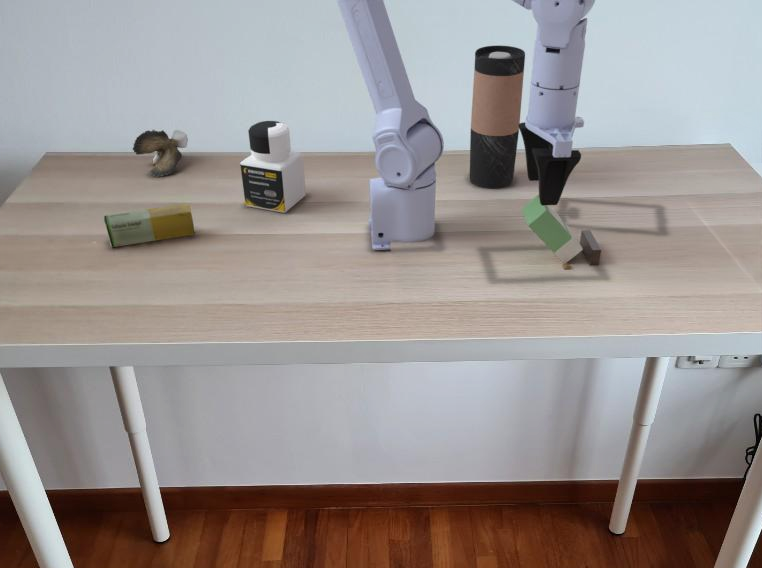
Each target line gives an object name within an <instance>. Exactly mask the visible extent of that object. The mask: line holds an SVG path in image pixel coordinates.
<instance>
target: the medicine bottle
mask: <svg viewBox="0 0 762 568" xmlns="http://www.w3.org/2000/svg"><path fill="white" fill-rule="evenodd" d="M248 139H249V148H250V154H251V155H249V156H247V157H246V158H244V159H243V160H241V162H240V163H239V165H240V173H241V180H242V189H243V197H244V204H245V206H246V207H249V208H254V209H260V210H266V211H271V212H276V213H277V212H278V213H282V214H286V213H287V212H288V211H289V210H290V209H292V208H293V207H294V206H296V204H297V203H299V202H300V201H301V200H302V199H303V198H305V197H306V194H307V192H306V180H305V179H306V178H305V166H304V154H303V153H302V152H299V151H294V150H292V147H291V135H290V127H289V126H288V125H287V124H286V123H284V122H280V121H277V120H265V121H264V120H263V121H259V122H256V123H254V124H253V125H250V127H249V129H248Z"/></svg>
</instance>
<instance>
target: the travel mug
mask: <svg viewBox="0 0 762 568" xmlns="http://www.w3.org/2000/svg"><path fill="white" fill-rule="evenodd" d="M525 63H526V52H525V50H524V49H522V48H520V47H516V46H510V45H487V46H482V47H479V48H477V49H476V50H475V52H474V68H473V69H474V70H473V71H474V72H473V86H472V100H471V117H470V136H469V137H470V138H469V139H470V141H469V142H470V143H469V150H470V151H469V181H470V183H471V184H473V185H475V186H476V187H479V188H484V189H502V188H505V187H508V186H510V185H511V184H512V183H513V181H514V174H515V166H516V160H517V159H516V158H517V151H518V142H519V134H520V129H519V127H518V125H519V124H520V123H521V112H522V111H521V110H522V101H523V99H522V98H523V88H524V87H523V86H524V73H525Z"/></svg>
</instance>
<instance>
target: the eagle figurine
mask: <svg viewBox="0 0 762 568" xmlns="http://www.w3.org/2000/svg"><path fill="white" fill-rule="evenodd" d="M188 142H189V138H188V134H187V133H186V132H184V131H183V130H180V129H175V130H174V131H173V132H172V135H171V137H169V135H168V134H167V133H166V131H164V130H160V131H158V130H155V129H152V130H145V131H143V132H142V133H141V134H139V135H138V136H137V137H136V139H135V140H134V143H133V147H132V151H133V152H134V153H135V155H137V156H138V155H139V156H140V155H145V154H146V155H147V154H153V153H155V152H156V153H155V154H154V157H153V159H152V165H153V167H152V168H151V170H149V174H150V175H151V176H153V177H155V178H159V177H164V176H165V175H166V176H168V175H171V174H173V173H174V172H175V171H176V169H178V165H179V163H180V161H181V160H182V158H183V155H182V152H181V151H180V149H185V148H187V146H188Z"/></svg>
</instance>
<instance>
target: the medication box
mask: <svg viewBox="0 0 762 568" xmlns="http://www.w3.org/2000/svg"><path fill="white" fill-rule="evenodd" d="M103 221H104V225H105V230H106V234H107V238H108V241H109V245H110V247H111V249H113V248H115V247H122V246H129V245H136V244H140V243H142V244H143V243H147V242H154V241H161V240H167V239H174V238H179V237H186V236H192V235H196V234H197V232H196V230H195V224H194V219H193V213H192V208H191V206H190V204H189V203H182V204H181V203H180V204H176V205H175V204H174V205H169V206H161V207H153V208H147V209H140V210H135V211H129V212H122V213H115V214H108V215H104V216H103Z"/></svg>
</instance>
